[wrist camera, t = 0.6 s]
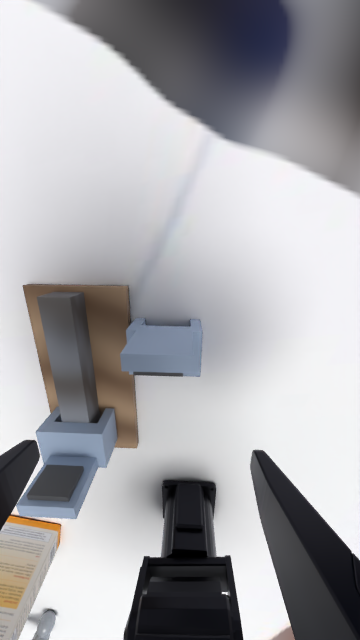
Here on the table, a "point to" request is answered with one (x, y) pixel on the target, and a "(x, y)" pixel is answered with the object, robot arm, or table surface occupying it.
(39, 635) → the molecular model
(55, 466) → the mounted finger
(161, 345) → the notched blue block
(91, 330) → the rail board
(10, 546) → the supplement box
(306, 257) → the table surface
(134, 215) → the table surface
